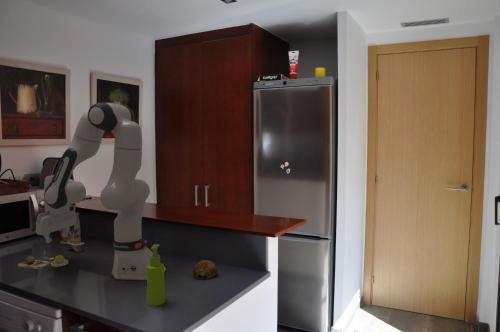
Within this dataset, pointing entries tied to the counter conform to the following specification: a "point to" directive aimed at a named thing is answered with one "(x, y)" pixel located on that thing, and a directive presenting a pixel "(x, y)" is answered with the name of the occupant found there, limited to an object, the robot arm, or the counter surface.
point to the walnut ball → (29, 260)
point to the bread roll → (204, 270)
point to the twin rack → (36, 264)
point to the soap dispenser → (155, 279)
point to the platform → (76, 244)
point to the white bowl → (59, 264)
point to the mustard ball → (59, 259)
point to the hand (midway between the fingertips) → (57, 239)
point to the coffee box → (71, 231)
